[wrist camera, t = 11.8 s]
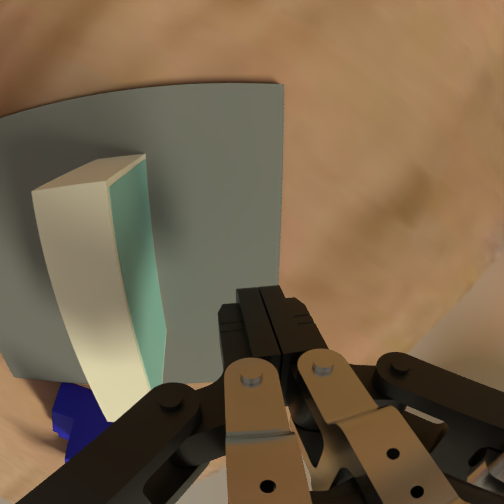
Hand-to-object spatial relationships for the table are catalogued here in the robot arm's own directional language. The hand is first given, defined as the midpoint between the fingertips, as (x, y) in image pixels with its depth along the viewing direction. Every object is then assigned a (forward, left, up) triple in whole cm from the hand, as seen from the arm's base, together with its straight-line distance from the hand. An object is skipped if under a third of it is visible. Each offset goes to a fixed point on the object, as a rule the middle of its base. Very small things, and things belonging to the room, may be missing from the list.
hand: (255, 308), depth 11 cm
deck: (-1, -5, -4) cm, 7 cm away
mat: (0, -7, -4) cm, 8 cm away
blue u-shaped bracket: (+15, -13, -5) cm, 20 cm away
